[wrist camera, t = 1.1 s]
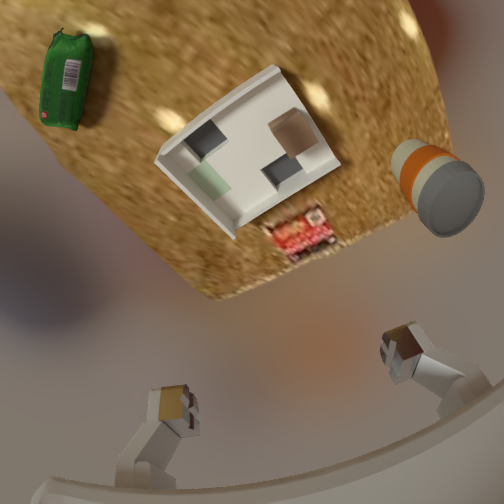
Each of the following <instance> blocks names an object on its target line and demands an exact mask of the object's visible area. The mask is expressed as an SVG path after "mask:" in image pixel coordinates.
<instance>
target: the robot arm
mask: <svg viewBox="0 0 504 504" xmlns="http://www.w3.org/2000/svg"><path fill="white" fill-rule="evenodd" d="M382 340H383V341H384V342H383V343H382V344H381V346H380V354H381V358H382V361H383V363H384V364H385V365H386V366H388V367H390V371H389V374H390V376H391V378H392V380H393V382H394V384H395V385H396V384H398V383H401V382H403V381H406V380H408V379H411V378H412V379H413V380H414V381H416V382H418V383H419V384H421V385H422V386H424V387H425V388H427V389H428V390H430V391H431V392H433V393H434V394H436V395H438V396H439V397H441V398H442V401H441V402H440V404H439V405H438V407H437V409H436V411H437V413H438V415H439V417H440V419H441V420H439V421H438V422H436V423H434V424H432V425H430V426H428V427H426V428H424V429H422V430H420V431H418V432H416V433H414V434H412V435H410V436H408V437H406V438H403V439H401V440H399V441H397V442H394V443H392V444H390V445H387V446H385V447H382V448H380V449H377V450H375V451H372V452H370V453H367V454H364V455H362V456H359V457H356V458H353V459H350V460H347V461H344V462H341V463H338V464H335V465H331V466H328V467H325V468H321V469H317V470H314V471H310V472H306V473H302V474H298V475H293V476H289V477H285V478H279V479H274V480H269V481H263V482H257V483H251V484H243V485H236V486H226V487H216V488H201V489H176V479H175V478H174V477H173V476H171V475H169V474H167V473H166V472H164V471H165V469H166V467H167V465H168V463H169V461H170V460H171V458H172V456H173V454H174V452H175V450H176V448H177V447H178V445H179V443H180V441H181V438H185V437H193V436H200V428H199V421H198V420H197V419H196V417H197V415H198V414H199V407H198V402H197V399H196V397H195V395H194V394H193V393H191V392H189V387H188V386H187V385H186V384H182V385H175V386H168V387H157V388H151V390H150V393H149V404H148V416H147V422H144V423H143V424H142V426H141V427H140V429H139V430H138V431H137V433H136V434H135V435H134V437H133V438H132V440H131V441H130V442H129V444H128V445H127V446H126V448H125V449H124V450H123V452H122V453H121V454H120V456H119V457H118V459H117V460H116V473H115V474H116V475H115V486H106V485H99V484H91V483H86V482H80V481H74V480H69V479H65V478H60V477H50V478H48V479H47V480H46V481H45V482H44V483H43V484H42V485H41V486H40V487H39V489H38V490H37V491H36V492H35V494H34V495H33V497H32V500H31V503H30V504H504V379H503V380H501V381H500V382H499V383H497V384H496V385H495V386H493V387H492V385H491V384H490V382H489V380H488V379H487V377H486V376H485V374H484V373H483V371H482V370H481V369H480V367H479V366H478V365H477V364H474V363H472V362H470V361H468V360H466V359H464V358H461V357H459V356H457V355H455V354H453V353H451V352H448V351H446V350H444V349H442V348H440V347H438V346H437V347H434V346H433V344H432V343H431V341H430V340H429V339H428V337H427V336H426V334H425V333H424V331H423V330H422V328H421V327H420V326H419V324H418V323H417V322H416V321H413V322H410V323H408V324H405V325H402V326H400V327H397V328H395V329H392V330H389V331H387V332H384V334H383V335H382Z"/></svg>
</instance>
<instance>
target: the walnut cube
mask: <svg viewBox="0 0 504 504" xmlns="http://www.w3.org/2000/svg"><path fill="white" fill-rule="evenodd" d="M268 126H269V128H270V130H271V132H272V134H273V135H274V137H275V138H276V139H277V141H278V142H279V143H280V145H281V146H282V148H283V149H284V150H285V152H286V153H287V155H288V156H289V157H290V159H293V158H294V157H296V156H297V155H299V154H301V153H302V152H304V151H305V150H307V149H309V148H310V147H312V146H313V145H315V144H317V143H318V142H319V141H318V139H317V138H316V136H315V134H314V133H313V131H312V130H311V128H310V126H309V125H308V123H307V122H306V120H305V119H304V117H303V116H302V115H301V114H300V113H299V111H298V110H297V109H296V108H295V107H293V108H291V109H290V110H288V111H287V112H285V113H283V114H282V115H280V116H279V117H277V118H276V119H274V120H273V121H271V122H269V123H268Z"/></svg>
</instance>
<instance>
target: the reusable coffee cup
mask: <svg viewBox="0 0 504 504" xmlns="http://www.w3.org/2000/svg"><path fill="white" fill-rule="evenodd" d="M391 170H392V173H393V174H394V176H395V178H396V179H397V180H398V182H399V183H400V187H401V190H402V192H403V194H404V195H405V197H406V198H407V200H408V202H409V203H410V205H411V207H412V208H413V210H414V211H415V212H416V213H418V216H419V218H420V220H421V222H422V223H423V224H424V225H425V226H426V227H427V228H428V229H429V230H430V231H431V232H432V233H433V234H434V235H436V236H438V237H451V236H453V235H456V234H458V233H459V232H461V231H463V230H464V229H465V228H466V227H467V226H468V225H469V224H470V223H471V222H472V221H473V219H474V218H475V217H476V216H477V214H478V212H479V210H480V208H481V205H482V203H483V199H484V183H483V181H482V179H481V177H480V176H479V175H478V174H477V173H476V172H475V171H474V170H473V169H472V168H471V167H470V166H469V165H468V164H467V163H465V162H463V161H460V160H459V159H458V158H457V157H456V156H454V155H452V154H451V153H449V152H447V151H445V150H443V149H441V148H439V147H437V146H434V145H428V144H426V143H424V142H422V141H420V140H418V139H409V140H406V141H404V142H403V143H401V144H400V145H399V146H398V147H397V148H396V150H395V151H394V153H393V156H392V159H391Z"/></svg>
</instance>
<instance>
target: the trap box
mask: <svg viewBox="0 0 504 504" xmlns="http://www.w3.org/2000/svg"><path fill="white" fill-rule="evenodd" d="M280 71H281V70H280V68H279V67H277V66H275V65H273V64H272V65H270V66H269V67H267V68H266V69H264V70H262V71H261V72H259V73H258V74H256V75H255V76H253V77H252V78H250V79H249V80H247V81H246V82H244V83H243V84H241V85H240V86H238V87H237V88H235V89H234V90H232V91H231V92H230V93H228V94H227V95H225V96H224V97H223V98H221V99H220V100H218V101H217V102H216V103H214V104H213V105H212V106H210V107H209V108H208V109H206V110H205V111H204V112H202V113H201V114H200V115H198V116H197V117H196V118H195V119H193V120H192V121H191V122H189V123H188V124H187V125H186V126H184V127H183V128H182V129H181V130H180V131H178V132H177V133H176V134H175V135H174V136H172V137H171V138H170V139H169V140H168V141H166V142H165V143H164V144H163V145H162V147H161V149H160V151H159V153H158V155H157V157H156V159H155V162H154V163H155V164H156V165H157V166H158V167H159V168H160V169H161V170H162V171H163V172H164V173H165V174H166V175H167V176H168V177H169V178H170V179H171V180H172V181H173V182H175V183H176V184H177V185H178V186H179V187H180V188H181V189H182V190H183V191H184V192H185V193H186V194H187V195H188V196H189V197H190V198H191V199H192V200H193V201H194V202H195V203H196V204H197V205H198V206H199V207H200V208H201V209H202V210H203V211H204V212H205V213H206V214H207V215H208V216H209V217H210V218H211V219H212V220H213V221H214V222H215V223H216V224H218V225H219V226H220V227H221V228H222V229H223V230H224V231H225V232H226V233H227V234H228V235H229V236H230V237H231V238H232V239H233V240H234V239H236V230H237V229H238V228H240V227H241V226H243V225H245V224H246V223H248V222H249V221H251V220H252V219H254V218H256V217H257V216H259V215H260V214H262V213H264V212H265V211H267V210H268V209H270V208H271V207H273V206H275V205H276V204H278V203H280V202H281V201H283V200H284V199H286V198H288V197H289V196H291V195H292V194H294V193H296V192H297V191H299V190H301V189H302V188H304V187H305V186H307V185H309V184H310V183H312V182H314V181H315V180H317V179H319V178H320V177H322V176H323V175H325V174H327V173H328V172H330V171H332V170H333V169H335V168H337V167H338V166H340V165H341V164H340V162H339V161H338V160H337V158H336V157H335V156H334V154H333V152H332V151H331V149H330V147H329V146H328V144H327V142H326V140H325V139H324V137H323V136H322V134H321V132H320V131H319V129H318V127H317V126H316V124H315V123H314V121H313V119H312V118H311V116H310V115H309V113H308V112H307V110H306V109H305V107H304V106H303V104H302V102H301V101H300V99H299V98H298V97H297V95H296V94H295V92H294V91H293V89H292V88H291V86H290V85H289V83H288V82H287V81H286V79H285V78H284V76H283V75H282V74H281V72H280ZM293 107H295V108H296V109H297V110H298V111H299V113H300V114H301V115H302V116H303V117H304V119H305V120H306V122H307V123H308V125H309V126H310V128H311V130H312V131H313V133H314V134H315V136H316V138H317V139H318V141H319V142H318V143H317V144H315V145H313V146H312V147H310V148H309V149H307V150H305V151H304V152H302V153H301V154H299V155H297V156H296V157H294V158H293V159H290V157H289V156H288V155H287V153H286V152H285V150H284V149H283V148H282V146H281V145H280V143H279V142H278V141H277V139H276V138H275V137H274V135H273V134H272V132H271V130H270V128H269V126H268V123H269V122H271V121H273V120H274V119H276V118H277V117H279V116H280V115H282V114H283V113H285V112H287V111H288V110H290V109H291V108H293Z"/></svg>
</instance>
